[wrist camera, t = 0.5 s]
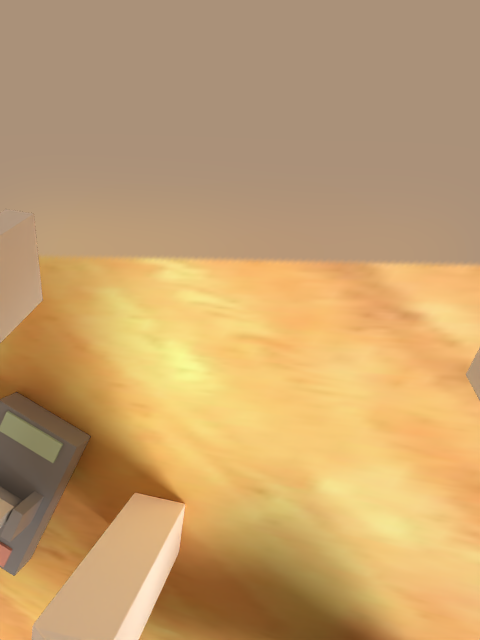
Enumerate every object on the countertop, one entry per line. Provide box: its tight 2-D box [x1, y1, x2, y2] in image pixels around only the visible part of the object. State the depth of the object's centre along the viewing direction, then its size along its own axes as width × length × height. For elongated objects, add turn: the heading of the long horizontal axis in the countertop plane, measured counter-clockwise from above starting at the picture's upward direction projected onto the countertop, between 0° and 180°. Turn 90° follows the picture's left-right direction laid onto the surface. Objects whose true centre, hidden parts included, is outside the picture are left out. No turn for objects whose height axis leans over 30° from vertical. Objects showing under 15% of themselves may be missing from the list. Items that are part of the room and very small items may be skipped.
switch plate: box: [0, 392, 91, 576], centre depth 49 cm, size 18×10×7 cm, turn 152°
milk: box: [32, 493, 185, 640], centre depth 40 cm, size 6×6×22 cm
